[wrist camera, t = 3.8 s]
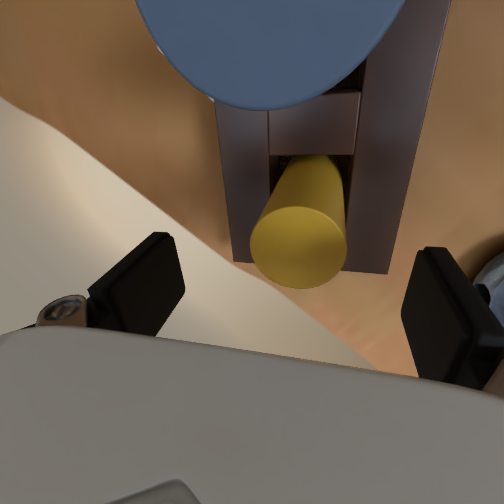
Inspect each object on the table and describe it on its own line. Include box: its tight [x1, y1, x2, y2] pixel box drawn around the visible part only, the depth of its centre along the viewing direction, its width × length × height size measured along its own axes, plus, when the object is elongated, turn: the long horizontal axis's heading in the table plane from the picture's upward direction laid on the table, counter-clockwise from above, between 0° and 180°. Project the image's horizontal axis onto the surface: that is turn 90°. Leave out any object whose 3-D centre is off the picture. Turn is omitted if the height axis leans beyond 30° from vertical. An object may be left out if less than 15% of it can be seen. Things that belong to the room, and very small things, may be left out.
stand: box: [214, 0, 451, 274], centre depth 16 cm, size 11×18×4 cm, turn 5°
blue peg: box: [135, 0, 405, 111], centre depth 10 cm, size 4×4×15 cm
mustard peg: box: [250, 155, 347, 289], centre depth 16 cm, size 4×4×10 cm
